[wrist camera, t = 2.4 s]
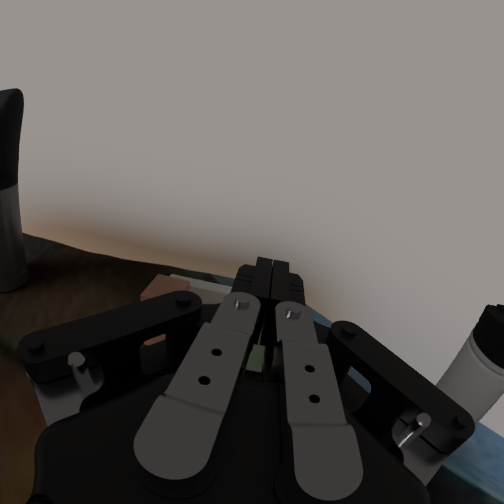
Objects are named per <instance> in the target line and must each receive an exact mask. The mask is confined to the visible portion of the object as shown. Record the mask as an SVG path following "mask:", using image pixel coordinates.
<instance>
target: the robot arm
mask: <svg viewBox="0 0 504 504" xmlns="http://www.w3.org/2000/svg"><path fill="white" fill-rule="evenodd" d="M23 109H24V98H23V94H22V92H21V90H19V89H17V88H16V89H7V90H2V91H0V292H8V291H12V290H14V289H17V288H19V287H20V286H22V285H23V284H24V283H25V282H26V281H27V280H28V278H29V271H28V266H27V261H26V255H25V249H24V242H23V235H22V228H21V219H20V208H19V195H18V161H19V142H20V133H21V125H22V118H23ZM272 262H273V260H272V259H268V258H263V257H258V258H257V262H256V266H251V265H246V264H245V265H243V266H241V267H240V268H239V270H238V272H237V275H236V278H235V281H234V283H233V286H232V289H231V292H230V293H229V294H227V295H226V296H225V297H224V299H223V300H222V302H221V303H217V304H202V299H201V298H200V297H199V296H198V295H197V294H195V293H193V292H190V291H185V290H178V291H173V292H170V293H166V294H163V295H160V296H156V297H153V298H150V299H146V300H143V301H140V302H136V303H133V304H130V305H126V306H123V307H119V308H116V309H113V310H109V311H106V312H102V313H99V314H96V315H92V316H89V317H85V318H82V319H78V320H75V321H71V322H68V323H64V324H61V325H57V326H54V327H50V328H47V329H43V330H39V331H36V332H32V333H30V334H28V335H26V336H24V337H23V338H22V339H21V340H20V342H19V344H18V347H17V352H18V355H19V357H20V359H21V361H22V364H23V366H24V368H25V370H26V373H27V376H28V378H29V379H30V381H31V383H32V385H33V387H34V388H35V390H36V393H37V396H38V400H39V403H40V406H41V409H42V412H43V415H44V417H45V420H46V423H47V425H48V427H47V428H46V429H45V430H44V431H43V432H42V433H41V435H40V437H39V439H38V441H37V443H36V447H35V453H34V460H35V477H34V485H33V490H32V494H31V496H30V498H29V500H28V501H27V503H26V504H430V498H429V494H428V491H427V489H426V485H427V484H428V483H429V481H430V480H431V479H432V477H433V476H434V475H435V473H436V472H437V470H438V469H439V468H440V466H441V465H442V463H443V462H444V460H445V459H446V458H447V457H448V456H449V455H450V454H451V453H453V452H454V451H455V450H456V449H457V448H458V447H460V446H461V445H462V444H463V443H464V442H465V441H466V440H467V439H468V438H469V437H470V436H472V434H473V433H474V430H475V423H474V420H473V418H472V416H471V415H470V413H469V412H468V411H466V410H465V409H464V408H463V407H461V406H460V405H459V404H458V403H456V402H455V401H454V400H453V399H451V398H450V397H449V396H447V395H446V394H445V393H444V392H442V391H441V390H440V389H439V388H437V387H436V386H435V385H433V384H432V383H431V382H430V381H428V380H427V379H426V378H425V377H423V376H422V375H421V374H419V373H418V372H417V371H416V370H414V369H413V368H412V367H410V366H409V365H408V364H406V363H405V362H404V361H403V360H402V359H400V358H399V357H398V356H396V355H395V354H394V353H393V352H391V351H390V350H389V349H387V348H386V347H385V346H384V345H382V344H381V343H380V342H378V341H377V340H376V339H374V338H373V337H372V336H371V335H369V334H368V333H367V332H366V331H364V330H363V329H362V328H360V327H359V326H358V325H356V324H354V323H352V322H348V321H337V322H334V323H333V324H332V325H331V328H329V327H326V326H323V325H321V324H318V323H317V322H315V321H313V319H312V315H311V312H310V310H309V309H308V308H307V307H306V306H305V296H304V288H303V280H302V279H301V278H300V276H299V275H298V274H293V273H289V262H284V261H279V260H274V262H273V266H272ZM260 333H261V337H260ZM163 334H165V339H164V340H162V341H159V342H157V343H154V344H151V345H149V346H146V347H143V348H141V349H140V347H141V345H142V344H143V343H144V342H145V341H147V340H149V339H152V338H155V337H157V336H160V335H163ZM259 337H260V344H259V345H261V346H265V350H264V354H263V358H262V383H258V382H255V381H252V380H249V379H247V378H244V377H243V376H244V373H245V370H246V366H247V363H248V359H249V355H250V353H251V352H252V349H253V345H254V344H255V345H258V341H259ZM351 366H352V367H353V368H354V369H356V370H357V371H358V372H359V373H360V374H361V375H362V376H364V377H365V378H366V379H367V380H368V381H369V382H370V384H371V393H370V394H369V393H368V392H367V391H366V390H364V389H363V388H362V387H361V386H360V385H359V384H358V383H357V382H356V381H354V380H353V379H352V378H351V377H350V376H349V375H348V374H347V373H348V372H349V370H350V368H351Z"/></svg>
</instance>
